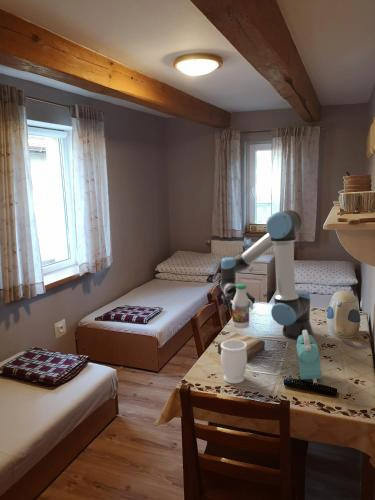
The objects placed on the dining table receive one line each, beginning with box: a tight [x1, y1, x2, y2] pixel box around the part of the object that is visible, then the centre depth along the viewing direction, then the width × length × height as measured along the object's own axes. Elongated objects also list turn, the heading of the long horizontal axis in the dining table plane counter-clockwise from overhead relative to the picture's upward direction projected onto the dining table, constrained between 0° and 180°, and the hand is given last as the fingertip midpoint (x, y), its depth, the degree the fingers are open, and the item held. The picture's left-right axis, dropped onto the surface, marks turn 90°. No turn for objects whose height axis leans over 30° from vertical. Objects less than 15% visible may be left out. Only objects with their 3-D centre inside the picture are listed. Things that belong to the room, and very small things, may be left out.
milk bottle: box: [231, 283, 250, 330], centre depth 182 cm, size 8×8×20 cm
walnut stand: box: [217, 332, 266, 363], centre depth 185 cm, size 16×16×5 cm
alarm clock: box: [296, 330, 323, 384], centre depth 157 cm, size 17×10×20 cm, turn 168°
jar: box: [220, 339, 248, 384], centre depth 159 cm, size 11×10×15 cm
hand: (243, 306), depth 177 cm, fingers closed on milk bottle, 7 cm apart
